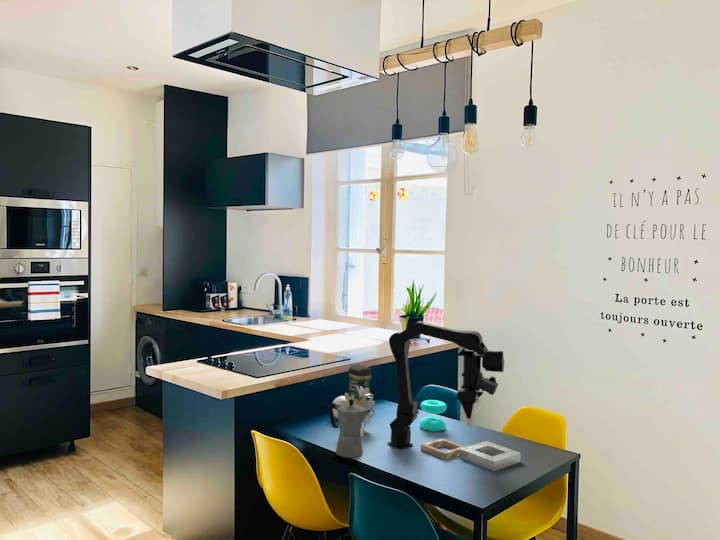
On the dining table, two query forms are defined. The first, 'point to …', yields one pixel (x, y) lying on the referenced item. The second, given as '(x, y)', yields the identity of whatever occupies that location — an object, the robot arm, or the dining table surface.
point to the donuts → (433, 422)
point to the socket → (498, 461)
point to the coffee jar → (359, 380)
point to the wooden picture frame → (432, 449)
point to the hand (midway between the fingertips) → (470, 416)
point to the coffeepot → (348, 428)
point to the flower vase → (345, 401)
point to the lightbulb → (474, 413)
